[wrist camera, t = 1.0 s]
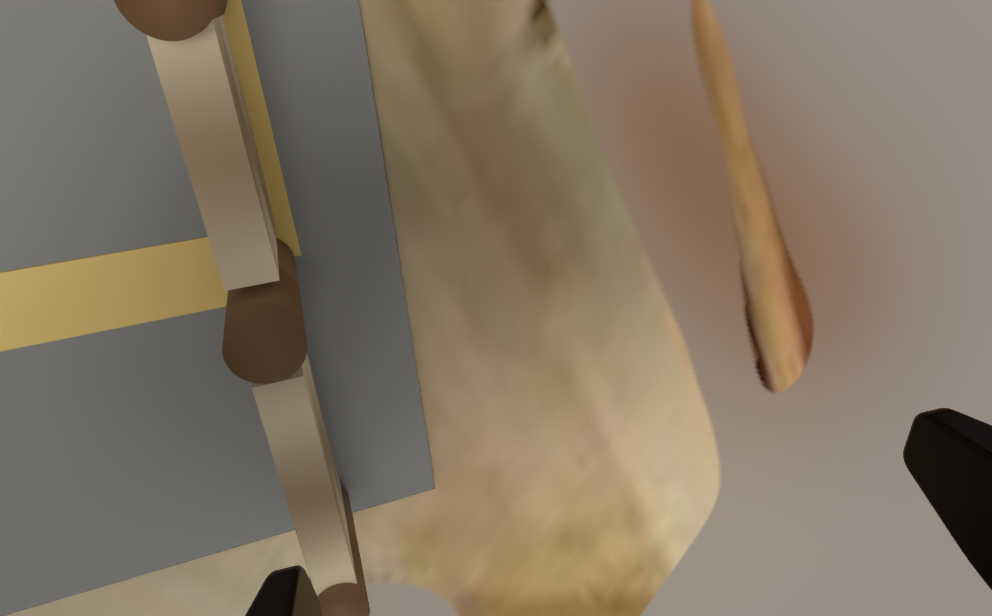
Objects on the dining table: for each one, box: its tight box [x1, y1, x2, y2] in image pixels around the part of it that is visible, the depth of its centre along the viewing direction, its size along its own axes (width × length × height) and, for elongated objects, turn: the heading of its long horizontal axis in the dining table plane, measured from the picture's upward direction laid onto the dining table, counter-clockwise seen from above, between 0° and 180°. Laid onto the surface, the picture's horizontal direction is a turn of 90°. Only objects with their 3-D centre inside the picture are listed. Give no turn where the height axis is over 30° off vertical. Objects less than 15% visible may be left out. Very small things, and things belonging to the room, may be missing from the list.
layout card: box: [0, 0, 435, 616], centre depth 18 cm, size 20×15×1 cm
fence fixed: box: [114, 0, 307, 384], centre depth 15 cm, size 9×2×6 cm, turn 4°
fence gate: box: [252, 354, 370, 616], centre depth 19 cm, size 9×2×5 cm, turn 4°
